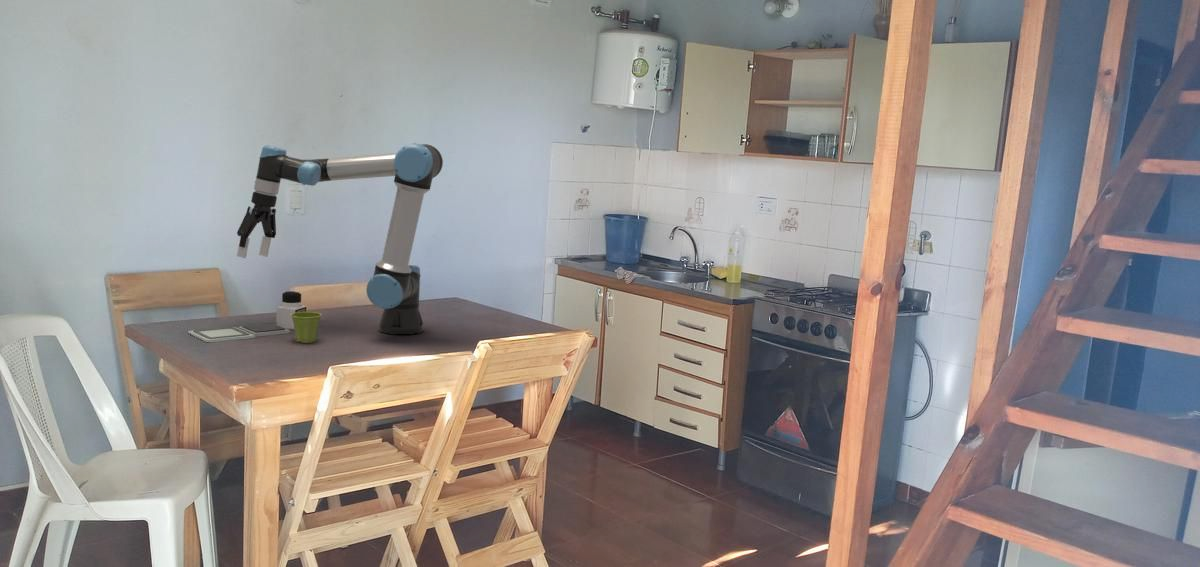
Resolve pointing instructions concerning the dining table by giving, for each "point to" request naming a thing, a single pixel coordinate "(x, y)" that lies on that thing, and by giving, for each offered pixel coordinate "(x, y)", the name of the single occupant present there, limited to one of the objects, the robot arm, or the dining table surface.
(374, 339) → the dining table surface
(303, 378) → the dining table surface
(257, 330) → the ink pad
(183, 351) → the dining table surface
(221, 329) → the print board
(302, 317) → the plant pot
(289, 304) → the medicine bottle
